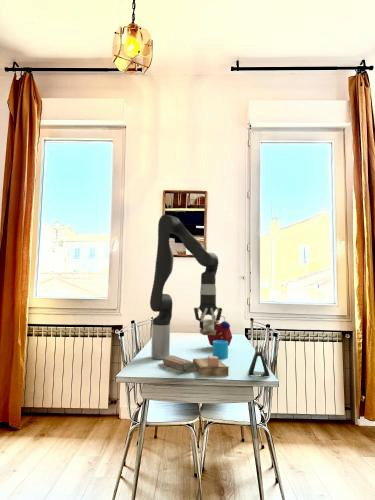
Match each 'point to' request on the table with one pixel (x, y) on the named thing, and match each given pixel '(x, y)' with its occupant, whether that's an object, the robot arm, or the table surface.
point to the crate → (213, 361)
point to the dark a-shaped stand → (251, 369)
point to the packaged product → (178, 365)
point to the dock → (209, 368)
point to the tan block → (208, 327)
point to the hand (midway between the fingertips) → (207, 329)
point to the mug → (220, 349)
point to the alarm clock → (221, 332)
